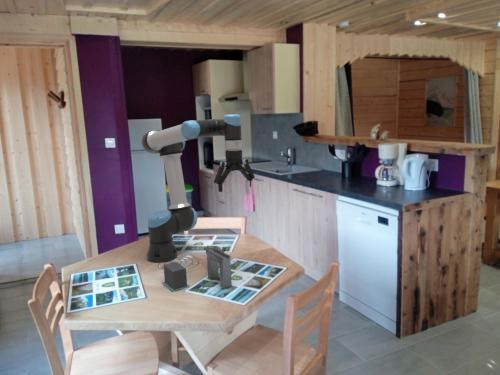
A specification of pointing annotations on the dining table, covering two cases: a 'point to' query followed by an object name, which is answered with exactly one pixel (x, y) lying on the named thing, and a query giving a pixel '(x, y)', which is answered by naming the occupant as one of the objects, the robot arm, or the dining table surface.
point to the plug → (175, 275)
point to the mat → (173, 289)
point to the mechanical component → (214, 247)
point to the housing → (225, 267)
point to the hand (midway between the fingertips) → (235, 196)
